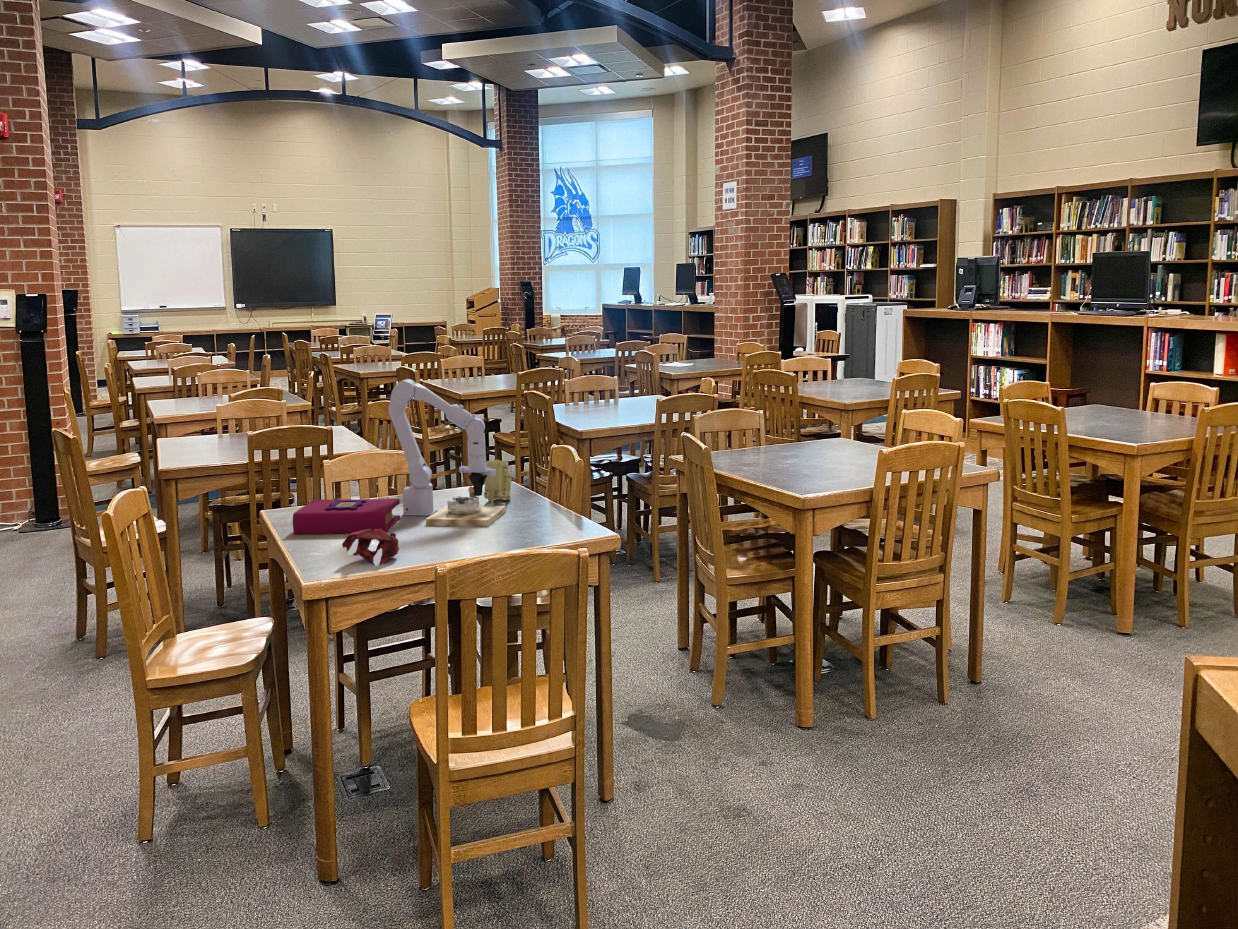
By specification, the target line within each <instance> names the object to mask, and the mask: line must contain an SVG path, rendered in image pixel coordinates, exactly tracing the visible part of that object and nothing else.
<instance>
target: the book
mask: <svg viewBox="0 0 1238 929" xmlns="http://www.w3.org/2000/svg"><path fill="white" fill-rule="evenodd" d="M400 503H401V502H400V498H395V497H394V498H366V499H365V498H360V499H359V498H358V499H357V498H356V499H354V498H351V499H312V500H310V501H308V503H306V504H305V505H303V506H302V507H301V508H299V509H298V510H296V511H294V512H293V514H292V530H293V534H294V535H329V534H328V533H353V532H357V531H361V530H366V529H382V530H383V531H385V532H387V533H388V532H389V531H390V530H391V529H392V528H393V527H394V526H395V525H396V524H397V523H398V522H399V521H400V520H401V515H400V514H399V515H398V514H394V515H393V510H394V509H395V508H396V507H397V506H399V505H400ZM398 520H399V521H398ZM397 521H398V522H397ZM396 522H397V523H396ZM394 524H395V525H394ZM393 525H394V526H393ZM391 527H392V528H391ZM389 529H390V530H389ZM325 533H326V534H325Z"/></svg>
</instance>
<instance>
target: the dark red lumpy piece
mask: <svg viewBox="0 0 1238 929" xmlns="http://www.w3.org/2000/svg"><path fill="white" fill-rule="evenodd" d="M396 536H397V534H396V533H395V532H391V533H390V534H389V533H388V532H387V533H386V532H385V531H383V530H382V529H366V530H361V531H357V532H353V533H351V534H348V535H347V536H345V537H346V538H345V539H344V541H343V542H342V543H341V545H342V548H343V549H344V548H346V550H347V555H348V556H355V557H356V556H360V557H361V558H363V559H364V560H365V561H367V562H371V563H373V564H374V565H375V566H377V565H379V566H380V565H383V564H384V563H388V562H389V561H391V560H390V559H391V558H394V557H395V556H396V555H398V553H399V550H400V547H399V540H398V538H397V537H396ZM382 563H383V564H382ZM377 567H378V566H377Z"/></svg>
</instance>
